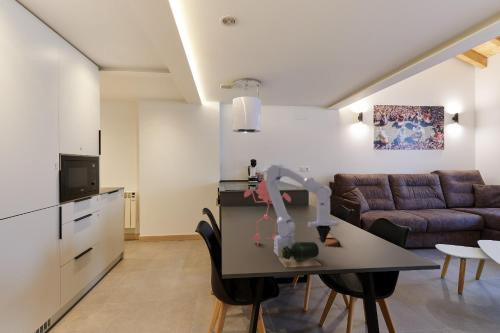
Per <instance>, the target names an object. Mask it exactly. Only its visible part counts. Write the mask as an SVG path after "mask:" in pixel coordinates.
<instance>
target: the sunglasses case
mask: <svg viewBox="0 0 500 333" xmlns="http://www.w3.org/2000/svg"><path fill="white" fill-rule="evenodd" d="M317 239H319V240H320V236H319V235H318V236H317ZM322 244H323V246H324V247H327V246H328V247H335V248H336V247H338V248H340V247H341V246H342V245H341V242H340V241H339V239H338V238H336V237H335V236H334V235H333V234H332V233H330V231H329V233H328V235H327V238H326V242H325V243H322Z"/></svg>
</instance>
